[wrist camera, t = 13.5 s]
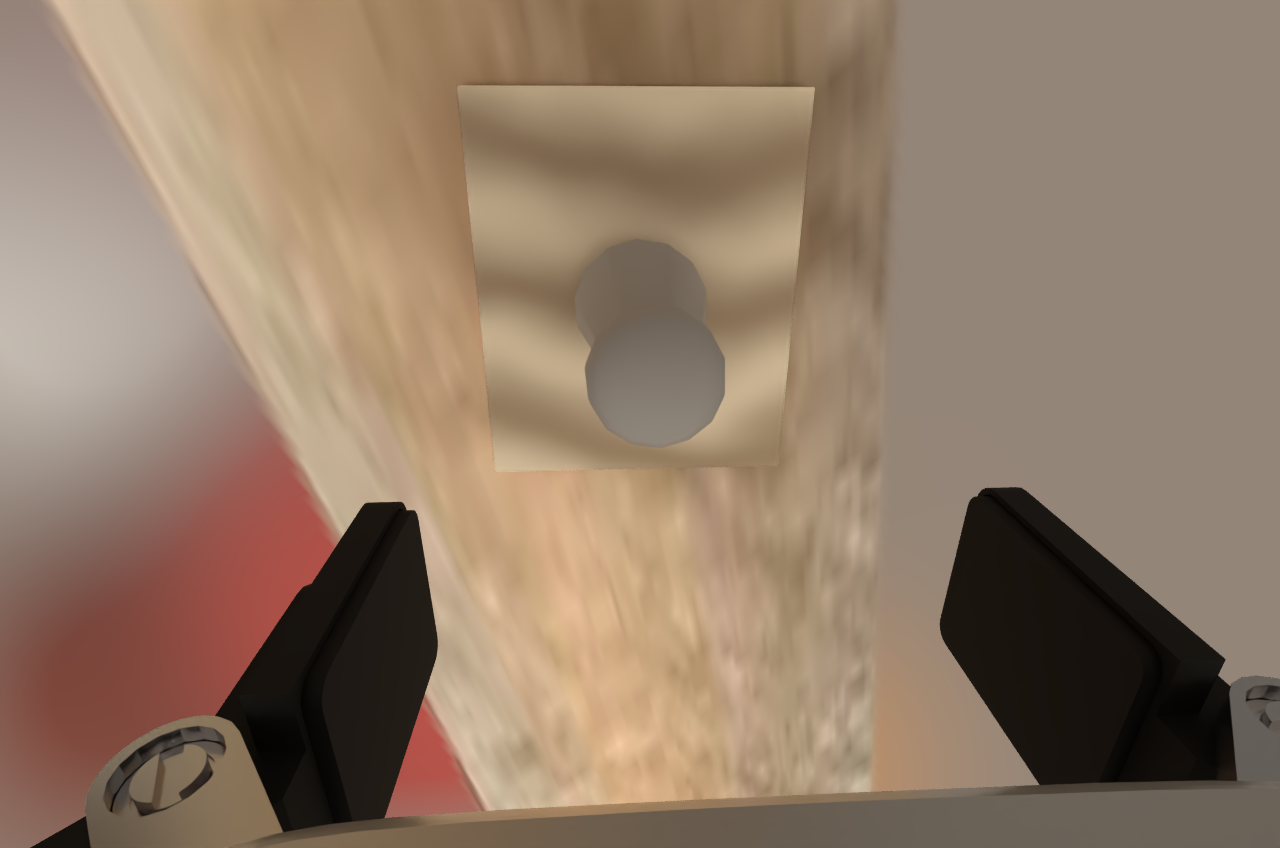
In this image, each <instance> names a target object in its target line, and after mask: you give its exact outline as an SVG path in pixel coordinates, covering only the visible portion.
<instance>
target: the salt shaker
mask: <svg viewBox="0 0 1280 848" xmlns="http://www.w3.org/2000/svg"><path fill="white" fill-rule="evenodd" d="M575 306H576V316H577V325H578V328H579V330H580V331H581V333H582V335H583V336H584V338H585V340H586V341H587V343H588V345H589V346H590V348H591V351H590V354H589V356H588V358H587V361H586V364H585V376H586V385H587V394H588V399H589V402H590V404H591V406H592V407H593V409H594V411H595V412H596V414H597V415H598V417H599V419H600V420H601V422H602V423H603V425H604V427H605V428H606V429H607V430H608V431H610V432H612V433H613V434H615V435H617V436H618V437H620V438H622V439H623V440H625V441H627V442H628V443H630V444H633V445H640V446H647V447H654V448H664V447H667V446H670V445H674V444H677V443H681V442H684V441H687V440H690V439H691V438H692V437H693V436H695V435H696V434H697V433H698V432H700V431H701V430H702V429H704V428H705V427H706V426H707V425H709V424H710V423H711V422H712V421H713V419H714V417H715V415H716V413H717V411H718V408H719V406H720V404H721V402H722V400H723V398H724V396H725V357H724V355H723V353H722V352H721V350H720V348H719V346H718V344H717V342H716V341H715V339H714V337H713V335H712V333H711V331H710V330H709V329H708V328H707V326H705V322H706V287H705V285H704V283H703V281H702V279H701V278H700V276H699V274H698V272H697V270H696V268H695V266H694V264H693V263H692V261H690V260H689V259H688V258H686V257H685V256H683V255H682V254H681V253H679V252H678V251H677V250H675V249H674V248H673V247H671V246H670V245H669V244H665V243H659V242H653V241H646V240H640V239H635V240H632V241H629V242H625V243H622V244H619V245H615V246H612V247H609V248H607V249H606V250H605V251H604V252H603V253H602V254H601V255H600V256H599V257H598V258H597V259H596V260H594V261H593V262H592V263H591V264H590V265H589V266H588V267H587V268H586V269H585V271H584V274H583V277H582V279H581V282H580V285H579V287H578V290H577V293H576V295H575Z"/></svg>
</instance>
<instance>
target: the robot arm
mask: <svg viewBox="0 0 1280 848" xmlns="http://www.w3.org/2000/svg"><path fill="white" fill-rule="evenodd" d="M940 631H941V635H942V638H943V640H944V642H945V644H946V646H947V647H948V649H949V650H950V651H951V653H952V655H953V656H954V657H955V659H956V660H957V662H958V663H959V665H960V667H961V668H962V669H963V671H964V672H965V674H966V675H967V677H968V678H969V680H970V681H971V683H972V684H973V686H974V687H975V689H976V690H977V692H978V693H979V695H980V696H981V698H982V699H983V701H984V702H985V704H986V705H987V706H988V708H989V710H990V711H991V713H992V714H993V716H994V717H995V719H996V720H997V722H998V723H999V725H1000V726H1001V728H1002V729H1003V731H1004V732H1005V734H1006V735H1007V737H1008V738H1009V740H1010V741H1011V743H1012V744H1013V746H1014V747H1015V749H1016V750H1017V752H1018V753H1019V755H1020V756H1021V758H1022V759H1023V761H1024V762H1025V763H1026V765H1027V767H1028V768H1029V770H1030V771H1031V773H1032V774H1033V776H1034V777H1035V779H1036V780H1037V781H1038V783H1039V785H1032V786H1031V785H1030V786H1005V787H982V788H980V787H979V788H954V789H930V790H929V789H928V790H906V791H882V792H859V793H837V794H814V795H792V796H770V797H749V798H727V799H705V800H685V801H666V802H646V803H627V804H607V805H587V806H568V807H548V808H529V809H510V810H496V811H481V812H466V813H452V814H438V815H423V816H408V817H393V818H385V815H386V812H387V809H388V806H389V803H390V799H391V796H392V793H393V790H394V787H395V784H396V781H397V778H398V775H399V772H400V769H401V765H402V762H403V759H404V756H405V753H406V750H407V747H408V744H409V741H410V738H411V735H412V731H413V728H414V725H415V722H416V719H417V716H418V713H419V710H420V707H421V704H422V701H423V698H424V695H425V691H426V688H427V685H428V682H429V679H430V676H431V673H432V670H433V667H434V664H435V660H436V656H437V648H438V639H437V631H436V625H435V619H434V613H433V607H432V601H431V594H430V588H429V582H428V576H427V570H426V564H425V558H424V552H423V545H422V539H421V533H420V527H419V521H418V516H417V513H416V512H415V511H414V510H406V507H405V505H404V504H403V503H402V502H376V503H365V504H364V505H363V506H362V508H361V509H360V511H359V512H358V514H357V515H356V517H355V518H354V520H353V521H352V523H351V525H350V526H349V528H348V529H347V531H346V532H345V534H344V535H343V537H342V538H341V540H340V541H339V543H338V544H337V546H336V547H335V549H334V550H333V552H332V554H331V555H330V557H329V558H328V560H327V561H326V563H325V564H324V566H323V567H322V569H321V571H320V572H319V573H318V575H317V576H316V578H315V579H314V581H313V583H312V584H309V585H307V586H304V587H303V588H302V589H301V590H300V591H299V592H298V594H297V595H296V597H295V598H294V600H293V601H292V602H291V604H290V605H289V607H288V609H287V610H286V611H285V613H284V614H283V616H282V617H281V619H280V620H279V622H278V623H277V625H276V626H275V628H274V629H273V631H272V632H271V634H270V635H269V637H268V638H267V640H266V641H265V643H264V644H263V646H262V647H261V648H260V650H259V652H258V653H257V654H256V656H255V657H254V659H253V660H252V662H251V663H250V665H249V666H248V668H247V670H246V671H245V672H244V674H243V675H242V677H241V678H240V680H239V681H238V683H237V684H236V686H235V687H234V689H233V690H232V692H231V693H230V695H229V696H228V698H227V699H226V700H225V702H224V703H223V705H222V706H221V708H220V710H219V711H218V713H217V714H216V715H215V716H196V717H190V718H185V719H181V720H177V721H174V722H172V723H169V724H166V725H164V726H161V727H159V728H156V729H154V730H152V731H151V732H149V733H147V734H145V735H144V736H142V737H140V738H138V739H137V740H135V741H133V742H132V743H131V744H129V745H128V746H127V747H126V748H124V749H123V750H122V751H120V752H119V753H118V754H117V755H115V756H114V757H113V758H112V759H111V760H110V761H109V762H108V764H107V765H106V766H105V767H104V768H103V769H102V770H101V772H100V773H99V774H98V775H97V776H96V778H95V780H94V782H93V784H92V786H91V788H90V790H89V791H88V793H87V799H86V807H85V813H86V816H85V817H84V818H82V819H80V820H78V821H77V822H75V823H73V824H71V825H70V826H68V827H66V828H64V829H63V830H61V831H59V832H57V833H55V834H54V835H52V836H50V837H48V838H47V839H45V840H43V841H41V842H40V843H38V844H36V845H35V846H33V847H31V848H1280V679H1278V678H1271V677H1263V676H1249V677H1241V678H1240V679H1238V680H1237V681H1235V682H1233V683H1232V684H1231V686H1229V685H1228V684H1227V683H1226V682H1225V681H1224V680H1222V679H1221V678H1220V677H1219V676H1218V674H1219V672H1220V670H1221V668H1222V666H1223V664H1224V662H1225V659H1224V658H1223V657H1222V656H1221V655H1220V654H1219V653H1217V652H1216V651H1215V650H1214V649H1213V648H1211V647H1210V646H1209V645H1208V644H1207V643H1206V642H1204V641H1203V640H1202V639H1201V638H1200V637H1198V636H1197V635H1196V634H1195V633H1194V632H1193V631H1191V630H1190V629H1189V628H1188V627H1187V626H1185V625H1184V624H1183V623H1182V622H1181V621H1179V620H1178V619H1177V618H1176V617H1175V616H1173V615H1172V614H1171V613H1170V612H1169V611H1168V610H1167V609H1165V608H1164V607H1163V606H1162V605H1161V604H1159V603H1158V602H1157V601H1156V600H1155V599H1153V598H1152V597H1151V596H1150V595H1149V594H1148V593H1146V592H1145V591H1144V590H1143V589H1142V588H1140V587H1139V586H1138V585H1137V584H1136V583H1135V582H1133V581H1132V580H1131V579H1130V578H1129V577H1127V576H1126V575H1125V574H1124V573H1123V572H1121V571H1120V570H1119V569H1118V568H1117V567H1116V566H1114V565H1113V564H1112V563H1111V562H1110V561H1108V560H1107V559H1106V558H1105V557H1104V556H1102V555H1101V554H1100V553H1099V552H1098V551H1096V549H1094V548H1093V547H1092V546H1091V545H1090V544H1088V543H1087V542H1086V541H1085V540H1084V539H1083V538H1081V537H1080V536H1079V535H1077V534H1076V533H1075V532H1074V531H1073V530H1072V529H1071V528H1069V527H1068V526H1067V525H1066V524H1065V523H1064V522H1062V521H1061V520H1060V519H1059V518H1058V517H1057V516H1055V515H1054V514H1053V513H1052V512H1050V511H1049V510H1048V509H1047V508H1046V507H1044V506H1043V505H1042V504H1041V503H1040V502H1039V501H1038V500H1036V499H1035V498H1034V497H1033V496H1031V495H1030V494H1029V493H1028V492H1027V491H1026V490H1024V489H1022V488H1018V487H1017V488H1016V487H1009V488H985V489H983V490H981V492H980V493H979V494H978V497H973V498H972V499H971V500H970V502H969V504H968V508H967V512H966V516H965V520H964V524H963V528H962V532H961V536H960V540H959V545H958V549H957V553H956V557H955V561H954V565H953V570H952V574H951V577H950V582H949V586H948V590H947V594H946V598H945V602H944V606H943V610H942V614H941V619H940Z"/></svg>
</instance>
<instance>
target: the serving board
mask: <svg viewBox="0 0 1280 848" xmlns="http://www.w3.org/2000/svg"><path fill="white" fill-rule="evenodd" d="M814 91H815V87H701V86H502V85H457V94H458V104H459V114H460V124H461V134H462V144H463V154H464V164H465V174H466V184H467V194H468V204H469V214H470V224H471V234H472V244H473V254H474V264H475V274H476V284H477V294H478V304H479V314H480V324H481V334H482V344H483V354H484V364H485V374H486V384H487V394H488V404H489V414H490V424H491V434H492V444H493V454H494V464H495V472H511V471H558V470H604V469H650V468H697V467H743V466H778V462H779V451H780V441H781V431H782V420H783V410H784V400H785V390H786V379H787V369H788V359H789V348H790V338H791V328H792V318H793V307H794V297H795V287H796V276H797V266H798V256H799V246H800V235H801V225H802V215H803V204H804V194H805V184H806V174H807V163H808V153H809V143H810V132H811V122H812V112H813V102H814ZM635 239H640V240H646V241H653V242H659V243H665V244H669V245H670V246H671V247H673V248H674V249H675V250H677V251H678V252H679V253H681V254H682V255H683V256H685V257H686V258H688V259H689V260H690V261H692V263H693V264H694V266H695V268H696V270H697V272H698V274H699V276H700V278H701V279H702V281H703V283H704V285H705V287H706V322H705V326H707V328H708V329H709V330H710V331H711V333H712V335H713V337H714V339H715V341H716V342H717V344H718V346H719V348H720V350H721V352H722V353H723V355H724V357H725V396H724V398H723V400H722V402H721V404H720V406H719V408H718V411H717V413H716V415H715V417H714V419H713V421H712V422H711V423H710V424H709V425H707V426H706V427H705V428H704V429H702V430H701V431H700V432H698V433H697V434H696V435H695V436H693V437H692V438H691V439H690V440H687V441H684V442H681V443H677V444H674V445H670V446H667V447H664V448H654V447H647V446H640V445H633V444H630V443H628V442H627V441H625V440H623V439H622V438H620V437H618V436H617V435H615V434H613V433H612V432H610V431H608V430H607V429H606V428H605V427H604V425H603V423H602V422H601V420H600V419H599V417H598V415H597V414H596V412H595V411H594V409H593V407H592V406H591V404H590V402H589V399H588V394H587V385H586V376H585V364H586V361H587V358H588V356H589V354H590V351H591V348H590V346H589V345H588V343H587V341H586V340H585V338H584V336H583V335H582V333H581V331H580V330H579V328H578V325H577V316H576V306H575V295H576V293H577V290H578V287H579V285H580V282H581V279H582V277H583V274H584V271H585V269H586V268H587V267H588V266H589V265H590V264H591V263H592V262H593V261H594V260H596V259H597V258H598V257H599V256H600V255H601V254H602V253H603V252H604V251H605V250H606V249H607V248H609V247H612V246H615V245H619V244H622V243H625V242H629V241H632V240H635Z"/></svg>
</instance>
